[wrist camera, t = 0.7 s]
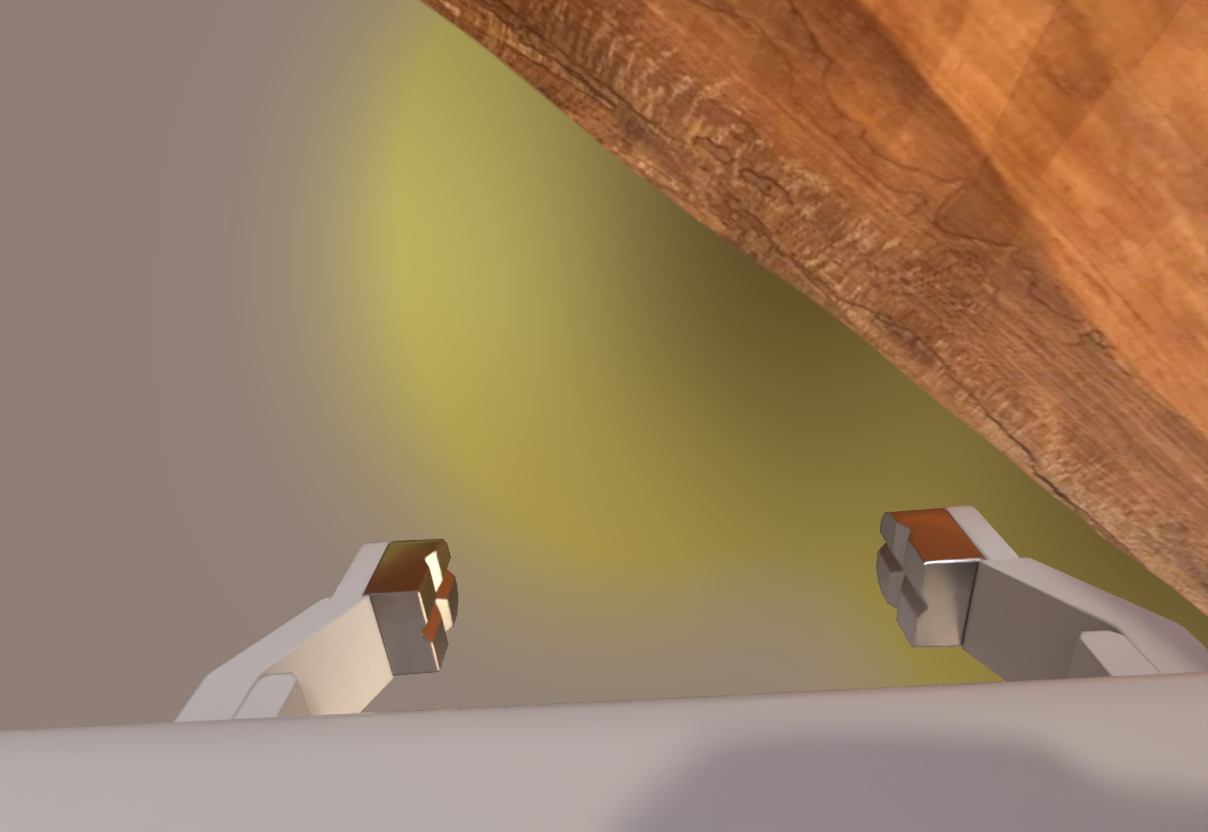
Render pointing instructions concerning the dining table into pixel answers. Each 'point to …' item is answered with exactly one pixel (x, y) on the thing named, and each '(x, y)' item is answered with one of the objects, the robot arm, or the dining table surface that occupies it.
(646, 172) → the dining table surface
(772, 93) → the dining table surface
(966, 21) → the dining table surface
